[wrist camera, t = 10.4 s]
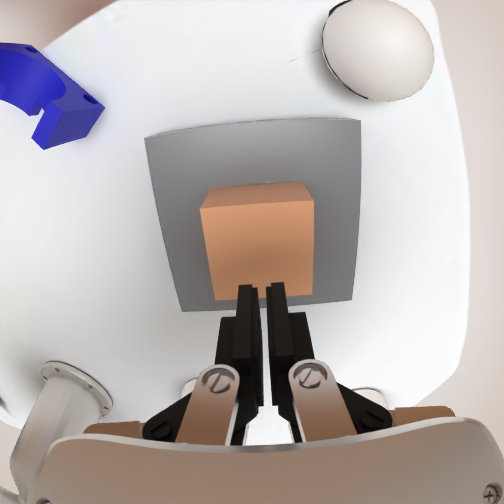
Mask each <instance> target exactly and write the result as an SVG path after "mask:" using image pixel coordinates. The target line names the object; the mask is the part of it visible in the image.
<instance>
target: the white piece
mask: <svg viewBox="0 0 504 504" xmlns="http://www.w3.org/2000/svg"><path fill="white" fill-rule="evenodd" d="M317 51H318V50H317ZM314 52H315V51H314ZM322 53H323V55H324V58H325V60H326V63H327V65H328V68H329V69H330V71H331V72H332V73H333V74H334V76H335V77H336V78H337V80H338V81H339V82H340V83H342V84H343V85H344V86H346V87H347V88H348V89H349V90H351V91H352V92H354V93H355V94H357V95H359V96H361V97H363V98H365V99H368V98H369V99H371V100H376V101H384V102H391V101H396V100H401V99H404V98H407V97H410V96H412V95H413V94H415V93H416V92H418V91H419V90H421V89H422V88H423V86H424V85H425V83H426V82H427V80H428V79H429V77H430V75H431V73H432V69H433V64H434V48H433V44H432V41H431V39H430V36H429V33H428V32H427V30H426V29H425V27H424V26H423V24H422V23H421V22H420V20H419V19H418V18H417V17H415V16H414V15H413V14H412V13H411V12H410V11H409V10H407V9H406V8H404V7H402V6H400V5H398V4H396V3H394V2H391V1H388V0H347V1H344V2H342V3H339V4H338V5H336V6H335V7H333V8H332V9H331V10H330V11H329V16H328V19H327V21H326V22H325V25H324V28H323V33H322ZM302 57H303V56H302ZM292 61H293V60H292Z"/></svg>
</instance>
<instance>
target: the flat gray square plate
mask: <svg viewBox="0 0 504 504" xmlns="http://www.w3.org/2000/svg"><path fill="white" fill-rule="evenodd" d="M144 139H145V145H146V152H147V158H148V164H149V170H150V175H151V181H152V186H153V191H154V197H155V202H156V207H157V211H158V216H159V221H160V226H161V230H162V235H163V239H164V243H165V248H166V252H167V256H168V260H169V264H170V268H171V272H172V276H173V280H174V284H175V288H176V291H177V295H178V299H179V302H180V306H181V310H182V312H189V311H216V310H237V299H234V300H215V296H214V291H213V285H212V280H211V274H210V268H209V262H208V257H207V251H206V245H205V238H204V232H203V226H202V220H201V213H200V207H201V205H202V203H203V201H204V199H205V198H206V196H207V194H208V192H209V190H210V188H218V187H230V186H242V185H251V184H264V183H287V182H303V183H304V185H305V187H306V188H307V190H308V192H309V193H310V195H311V197H312V198H313V200H314V252H313V286H312V294H311V295H298V296H286V300H287V306H296V305H308V304H319V303H330V302H339V301H349V300H352V293H353V285H354V276H355V267H356V256H357V245H358V232H359V216H360V194H361V120H355V119H348V118H300V119H276V120H261V121H248V122H237V123H227V124H219V125H211V126H203V127H196V128H189V129H182V130H176V131H170V132H165V133H159V134H156V135H152V136H149V137H146V138H144ZM259 308H267V303H266V298H259Z"/></svg>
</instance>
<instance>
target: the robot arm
mask: <svg viewBox="0 0 504 504" xmlns="http://www.w3.org/2000/svg"><path fill="white" fill-rule="evenodd" d="M266 303H267V325H268V347H269V365H270V378H271V392H272V406H277V405H278V413H279V415H280V416H281V417H283V418H284V419H286V420H287V421H288V425H289V430H290V434H291V438H292V442H293V443H291V444H277V445H255V446H245V444H246V439H247V434H248V429H249V422H250V421H251V420H252V419H254V418H255V417H256V416H257V414H258V407H259V406H264V395H263V346H262V330H261V319H260V308H259V297H258V287H253V286H252V284H244V285H239V286H238V298H237V310H236V317H222V318H221V322H220V329H219V336H218V343H217V350H216V357H215V365H213V366H209V367H208V368H206V369H204V370H203V371H202V372H201V373H200V374H199V376H198V378H197V380H196V383H195V386H194V389H193V391H192V392H190V393H189V394H187V395H186V396H184V397H183V398H181V399H180V400H178V401H177V402H175V403H174V404H172V405H171V406H169V407H168V408H166V409H165V410H163V411H161V412H160V413H158V414H157V415H155V416H153V417H152V418H150V419H149V420H148V421H147V422H146V423H141V422H140V421H130V422H117V423H98V422H99V420H100V417H101V416H104V415H107V414H109V413H110V411H111V409H112V400H111V398H110V396H109V395H108V393H107V392H106V391H105V390H104V389H103V388H102V387H101V386H100V385H99V384H98V383H97V382H96V381H95V380H93V379H92V378H91V377H89V376H88V375H86V374H85V373H83V372H81V371H79V370H78V369H76V368H74V367H71V366H69V365H66V364H64V363H59V362H48V363H46V364H45V365H44V367H43V368H42V371H41V375H42V378H43V381H44V382H45V385H44V387H43V389H42V391H41V393H40V395H39V397H38V399H37V400H36V402H35V404H34V406H33V408H32V410H31V412H30V414H29V417H28V419H27V421H26V423H25V425H24V427H23V429H22V431H21V434H20V436H19V438H18V441H17V443H16V445H15V447H14V450H13V452H12V455H11V458H10V469H11V473H12V476H13V479H14V481H15V484H16V486H17V488H18V491H19V495H16V494H14V493H12V492H10V491H8V490H6V489H5V488H3V487H2V486H0V504H504V458H503V456H502V454H501V451H500V449H499V447H498V445H497V443H496V441H495V439H494V438H493V436H492V434H491V433H490V431H489V430H488V429H487V428H486V427H485V425H483V424H482V423H481V422H479V421H477V420H474V419H470V418H465V417H456V416H455V414H454V412H453V411H452V410H451V409H450V408H448V407H446V406H428V407H403V408H395V409H394V410H387V409H386V408H384V407H383V406H381V405H379V404H377V403H375V402H373V401H371V400H369V399H367V398H365V397H364V396H362V395H360V394H358V393H356V392H354V391H352V390H350V389H348V388H347V387H345V386H343V385H341V384H339V383H337V382H336V381H335V378H334V376H333V373H332V371H331V369H330V368H329V366H328V365H326V364H325V363H324V362H321V361H319V360H315V358H314V352H313V347H312V342H311V337H310V332H309V327H308V323H307V318H306V313H305V312H296V313H288V307H287V300H286V293H285V286H284V282H274V283H271V286H267V287H266Z"/></svg>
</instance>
